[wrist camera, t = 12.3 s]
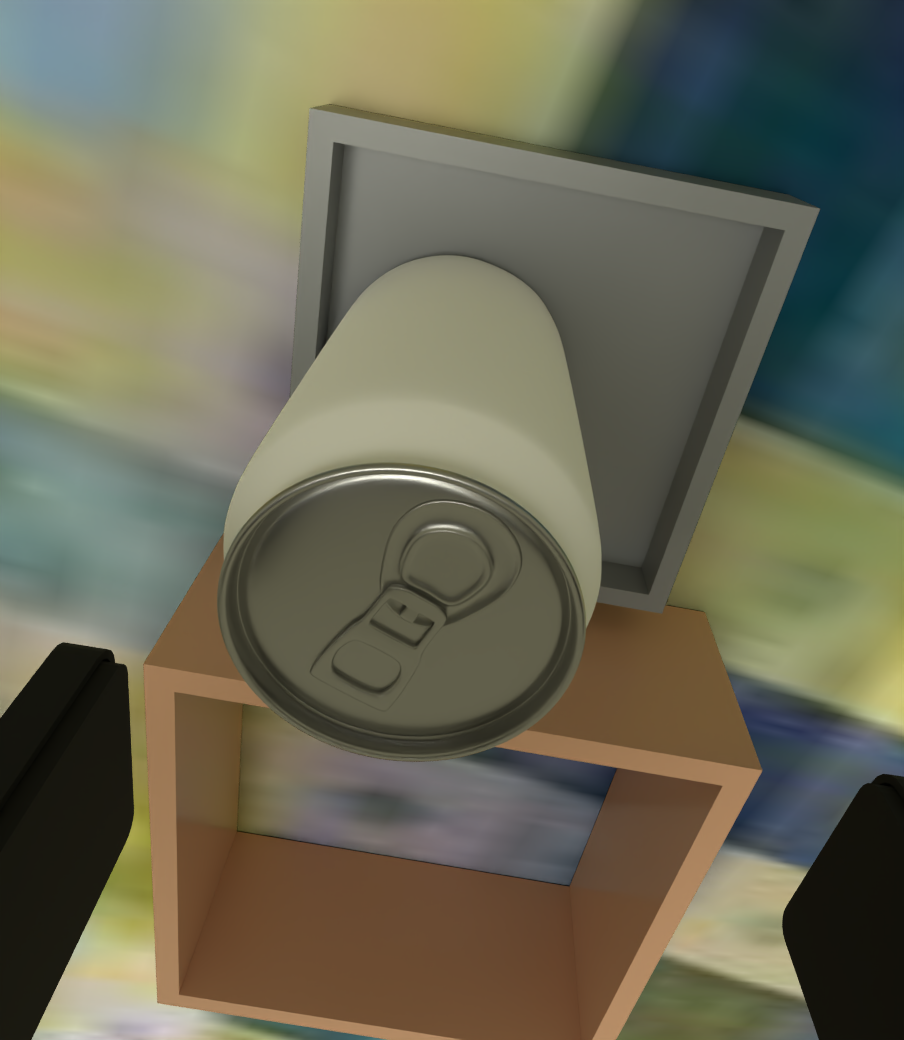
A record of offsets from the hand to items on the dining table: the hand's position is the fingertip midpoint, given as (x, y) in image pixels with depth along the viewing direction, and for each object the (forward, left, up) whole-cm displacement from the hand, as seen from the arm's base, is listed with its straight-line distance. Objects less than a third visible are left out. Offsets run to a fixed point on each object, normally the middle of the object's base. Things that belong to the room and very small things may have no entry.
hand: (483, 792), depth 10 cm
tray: (0, 0, -15) cm, 15 cm away
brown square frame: (-15, 0, -15) cm, 21 cm away
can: (0, +1, -15) cm, 15 cm away
